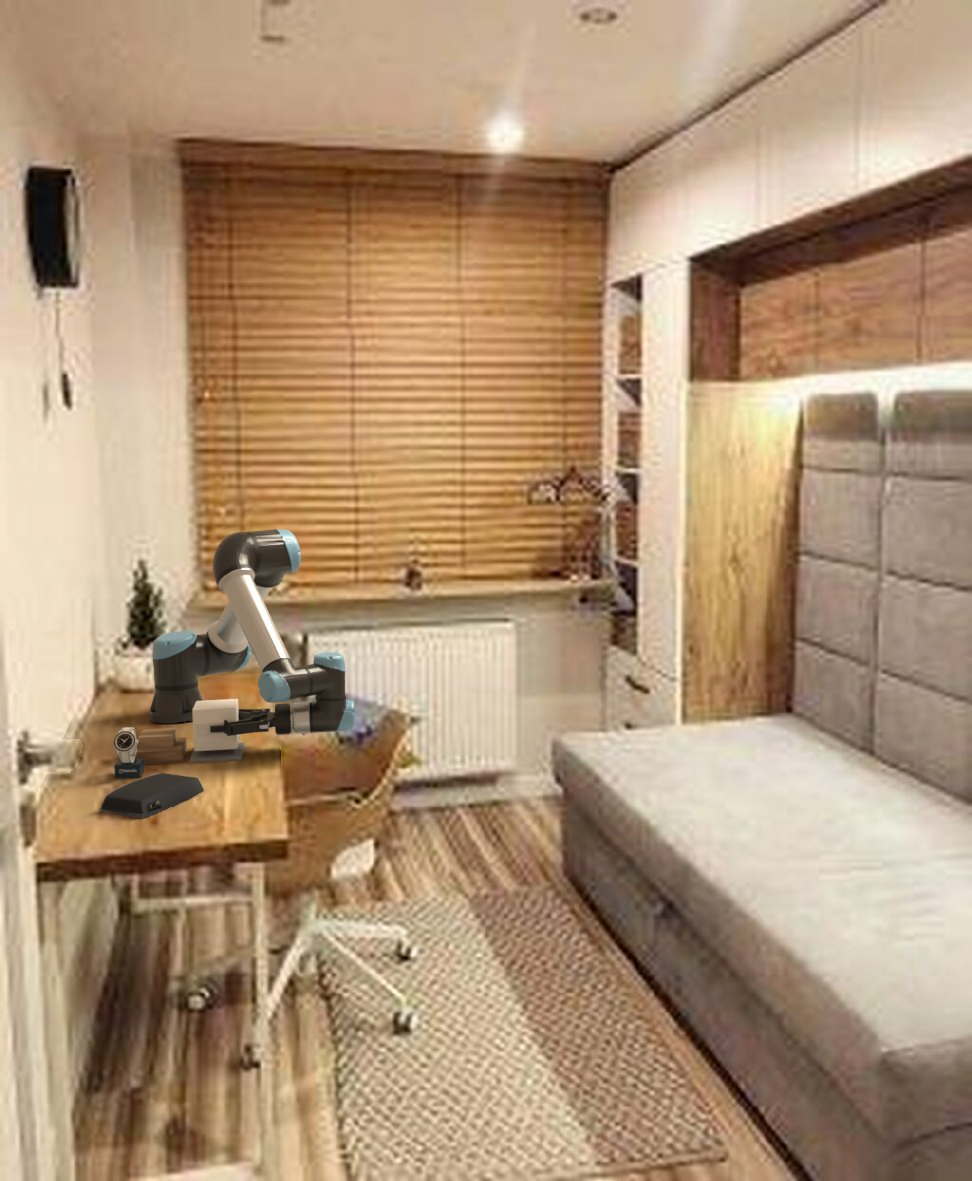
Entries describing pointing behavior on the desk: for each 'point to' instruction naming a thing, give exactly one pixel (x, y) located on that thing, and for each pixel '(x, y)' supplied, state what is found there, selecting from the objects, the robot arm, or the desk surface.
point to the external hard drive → (151, 795)
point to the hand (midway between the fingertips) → (198, 723)
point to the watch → (127, 754)
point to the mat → (218, 755)
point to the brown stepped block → (160, 746)
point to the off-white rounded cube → (215, 713)
